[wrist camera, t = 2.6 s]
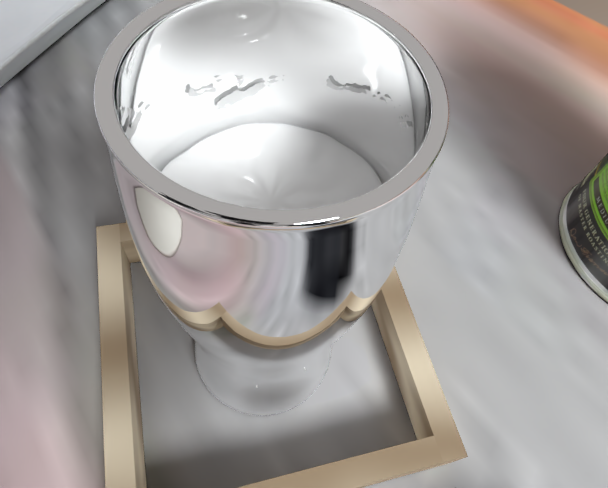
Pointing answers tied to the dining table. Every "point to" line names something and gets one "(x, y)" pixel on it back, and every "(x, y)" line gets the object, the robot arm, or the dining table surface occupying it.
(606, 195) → the coffee can
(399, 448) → the beech frame
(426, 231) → the dining table surface
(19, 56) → the salad plate
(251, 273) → the steel cup
